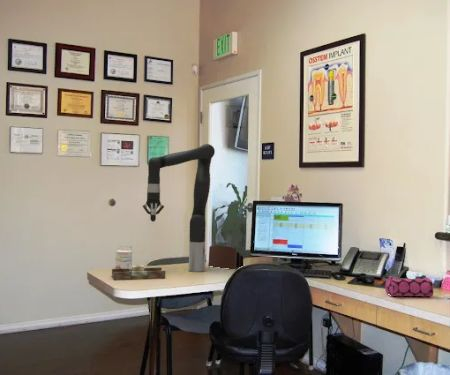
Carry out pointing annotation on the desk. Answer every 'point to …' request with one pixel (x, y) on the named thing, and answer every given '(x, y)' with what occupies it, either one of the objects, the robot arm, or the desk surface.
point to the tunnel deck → (138, 274)
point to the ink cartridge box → (123, 257)
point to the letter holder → (225, 257)
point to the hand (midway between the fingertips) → (152, 221)
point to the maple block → (137, 268)
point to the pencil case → (409, 287)
